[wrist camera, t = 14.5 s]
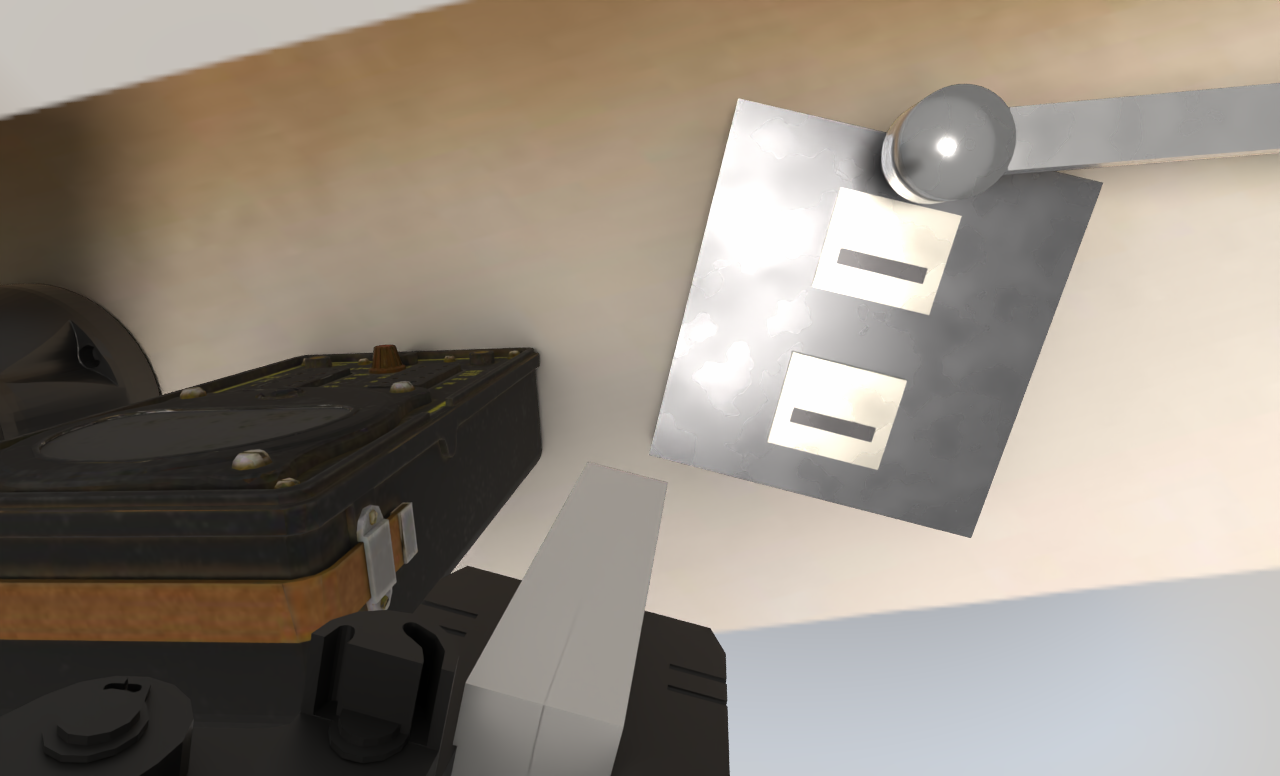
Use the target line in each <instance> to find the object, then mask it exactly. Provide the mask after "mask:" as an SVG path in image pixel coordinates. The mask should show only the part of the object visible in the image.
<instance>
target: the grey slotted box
mask: <svg viewBox="0 0 1280 776" xmlns="http://www.w3.org/2000/svg"><path fill="white" fill-rule="evenodd" d="M886 134H887V133H886V132H882V131H877V130H873V129H869V128H864V127H860V126H856V125H851V124H847V123H843V122H838V121H834V120H830V119H825V118H821V117H817V116H813V115H808V114H804V113H800V112H795V111H791V110H787V109H782V108H778V107H774V106H769V105H765V104H761V103H756V102H752V101H748V100H743V99H739V98H738V101H737V105H736V109H735V113H734V117H733V121H732V125H731V129H730V133H729V137H728V141H727V145H726V149H725V153H724V157H723V161H722V165H721V169H720V173H719V177H718V181H717V185H716V189H715V193H714V197H713V201H712V205H711V209H710V213H709V217H708V221H707V225H706V229H705V233H704V237H703V241H702V245H701V249H700V253H699V257H698V261H697V265H696V269H695V273H694V277H693V281H692V285H691V289H690V293H689V297H688V301H687V305H686V309H685V313H684V317H683V321H682V325H681V329H680V333H679V337H678V341H677V345H676V349H675V353H674V357H673V361H672V365H671V369H670V373H669V377H668V381H667V385H666V389H665V393H664V397H663V401H662V405H661V409H660V413H659V417H658V421H657V425H656V429H655V433H654V437H653V441H652V445H651V449H650V453H649V455H651V456H655V457H659V458H663V459H667V460H670V461H674V462H678V463H682V464H686V465H690V466H694V467H698V468H701V469H705V470H709V471H713V472H717V473H721V474H725V475H729V476H732V477H736V478H740V479H744V480H748V481H752V482H756V483H760V484H763V485H767V486H771V487H775V488H779V489H783V490H787V491H791V492H794V493H798V494H802V495H806V496H810V497H814V498H818V499H822V500H825V501H829V502H833V503H837V504H841V505H845V506H849V507H853V508H856V509H860V510H864V511H868V512H872V513H876V514H880V515H884V516H887V517H891V518H895V519H899V520H903V521H907V522H911V523H915V524H918V525H922V526H926V527H930V528H934V529H938V530H942V531H946V532H949V533H953V534H957V535H961V536H965V537H969V538H971V537H972V534H973V532H974V529H975V526H976V524H977V521H978V518H979V515H980V513H981V510H982V507H983V505H984V502H985V499H986V497H987V494H988V491H989V489H990V486H991V483H992V480H993V478H994V475H995V472H996V470H997V467H998V464H999V462H1000V459H1001V456H1002V454H1003V451H1004V448H1005V445H1006V443H1007V440H1008V437H1009V435H1010V432H1011V429H1012V427H1013V424H1014V421H1015V419H1016V416H1017V413H1018V410H1019V408H1020V405H1021V402H1022V400H1023V397H1024V394H1025V392H1026V389H1027V386H1028V384H1029V381H1030V378H1031V375H1032V373H1033V370H1034V367H1035V365H1036V362H1037V359H1038V357H1039V354H1040V351H1041V349H1042V346H1043V343H1044V341H1045V338H1046V335H1047V332H1048V330H1049V327H1050V324H1051V322H1052V319H1053V316H1054V314H1055V311H1056V308H1057V306H1058V303H1059V300H1060V297H1061V295H1062V292H1063V289H1064V287H1065V284H1066V281H1067V279H1068V276H1069V273H1070V271H1071V268H1072V265H1073V262H1074V260H1075V257H1076V254H1077V252H1078V249H1079V246H1080V244H1081V241H1082V238H1083V236H1084V233H1085V230H1086V227H1087V225H1088V222H1089V219H1090V217H1091V214H1092V211H1093V209H1094V206H1095V203H1096V201H1097V198H1098V195H1099V192H1100V190H1101V187H1102V184H1103V183H1102V182H1098V181H1093V180H1089V179H1085V178H1080V177H1076V176H1072V175H1067V174H1063V173H1059V172H1054V171H1048V172H1035V173H1022V174H1010V175H1002V176H1001V177H1000V178H999V180H998V181H997V182H995V183H994V184H993V185H992V186H991V187H989V188H988V189H987V190H985V191H983V192H982V193H980V194H978V195H975V196H973V197H969V198H966V199H960V200H954V201H948V202H941V203H935V204H921V203H916V202H912V201H910V200H907V199H905V198H904V197H902V196H901V195H899V194H898V193H897V192H896V191H895V190H894V189H893V188H892V187H891V186H890V184H889V183H888V181H887V179H886V177H885V174H884V172H883V168H882V160H881V154H882V146H883V142H884V139H885V136H886Z"/></svg>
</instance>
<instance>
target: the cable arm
mask: <svg viewBox="0 0 1280 776" xmlns="http://www.w3.org/2000/svg"><path fill="white" fill-rule="evenodd" d="M1274 153H1280V83H1274V84H1263V85H1252V86H1241V87H1230V88H1218V89H1207V90H1196V91H1185V92H1174V93H1163V94H1152V95H1140V96H1129V97H1118V98H1107V99H1096V100H1085V101H1074V102H1062V103H1051V104H1040V105H1029V106H1018V107H1009V108H1008V106H1007V105H1006V103H1005V102H1004V101H1003V100H1002V99H1001V98H1000V97H999V96H998V95H996V94H995V93H994V92H992V91H990V90H989V89H986V88H984V87H981V86H977V85H972V84H957V85H951V86H948V87H944V88H942V89H940V90H937V91H935V92H934V93H932V94H930V95H929V96H927V97H926V98H924V99H923V100H921V101H920V102H918V103H917V104H915V105H914V106H912V107H911V108H909V109H908V110H906V111H905V112H904V113H902V114H901V115H900V116H899V117H898V118H897V119H896V120H895V121H894V123H893V124H892V125H891V127H890V129H889V130H888V132H887V134H886V136H885V139H884V142H883V146H882V154H881V160H882V168H883V172H884V174H885V177H886V179H887V181H888V183H889V184H890V186H891V187H892V188H893V189H894V190H895V191H896V192H897V193H898V194H899V195H901V196H902V197H904V198H905V199H907V200H910V201H912V202H916V203H921V204H935V203H941V202H948V201H954V200H960V199H966V198H969V197H973V196H975V195H978V194H980V193H982V192H983V191H985V190H987V189H988V188H989V187H991V186H992V185H993V184H994V183H995V182H997V181H998V180H999V178H1000V177H1001V176H1002V175H1010V174H1022V173H1035V172H1048V171H1060V170H1073V169H1085V168H1098V167H1110V166H1123V165H1136V164H1148V163H1161V162H1173V161H1186V160H1199V159H1211V158H1224V157H1236V156H1249V155H1261V154H1274Z"/></svg>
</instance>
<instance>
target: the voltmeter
mask: <svg viewBox="0 0 1280 776" xmlns="http://www.w3.org/2000/svg"><path fill="white" fill-rule="evenodd" d="M537 367H539V353H536V352H534V351H533V348H502V349H473V350H444V351H415V352H413V351H409V352H398V351H397V349H396V346H395V345H379V346H376V347H374V351H373V353H357V354H328V355H305V356H299V357H294V358H291V359H287V360H284V361H280V362H277V363H273V364H270V365H266V366H263V367H259V368H256V369H252V370H249V371H245V372H242V373H238V374H235V375H231V376H228V377H224V378H221V379H217V380H214V381H210V382H207V383H203V384H200V385H196V386H193V387H189V388H185V389H182V390H178V391H175V392H171V393H168V394H164V395H161V396H157V397H154V398H150V399H147V400H143V401H140V402H136V403H133V404H129V405H126V406H122V407H119V408H115V409H112V410H108V411H105V412H101V413H98V414H94V415H91V416H87V417H84V418H80V419H77V420H73V421H70V422H66V423H63V424H59V425H56V426H52V427H49V428H45V429H42V430H38V431H35V432H31V433H28V434H24V435H20V436H17V437H13V438H10V439H6V440H3V441H0V717H1V716H3V715H5V714H7V713H9V712H11V711H13V710H15V709H18V708H20V707H22V706H24V705H26V704H28V703H30V702H32V701H34V700H36V699H38V698H40V697H42V696H44V695H46V694H49V693H52V692H54V691H57V690H60V689H62V688H65V687H68V686H70V685H73V684H76V683H78V682H83V681H88V680H94V679H100V678H106V677H112V676H139V677H151V678H154V679H157V680H161V681H164V682H167V683H170V684H173V685H175V686H176V687H177V688H179V689H180V690H181V691H182V692H183V693H184V694H185V695H186V696H187V697H188V698H189V699H190V700H191V706H192V712H193V718H194V721H193V728H246V729H253V728H269V727H279V726H283V725H288V724H290V723H291V722H292V721H293V720H294V719H295V718H296V716H297V715H298V714H299V713H300V710H301V703H302V696H303V689H304V682H305V675H306V668H307V661H308V654H309V647H310V640H311V633H313V632H314V631H316V630H317V629H319V628H320V627H322V626H323V625H325V624H326V623H328V622H329V621H331V620H332V619H336V618H339V617H342V616H345V615H349V614H352V613H355V612H360V611H375V610H392V611H398V612H405V613H412V614H413V612H414V611H415V610H416V609H417V607H418V606H419V605H420V604H422V603H423V600H424V599H425V597H426V596H427V595H428V594H429V592H430V591H431V590H432V588H433V587H434V586H435V585H436V583H437V582H438V581H439V580H440V579H441V578H444V577H446V576H448V575H450V573H451V572H452V571H453V570H454V568H455V567H456V566H457V564H458V563H459V562H460V561H461V559H462V558H463V557H464V555H465V554H466V553H467V552H468V550H469V549H470V548H471V547H472V545H473V544H474V543H475V541H476V540H477V539H478V538H479V536H480V535H481V534H482V532H483V531H484V530H485V529H486V527H487V526H488V525H489V524H490V522H491V521H492V520H493V518H494V517H495V516H496V515H497V513H498V512H499V511H500V509H501V508H502V507H503V506H504V504H505V503H506V502H507V501H508V499H509V498H510V497H511V495H512V494H513V493H514V492H515V490H516V489H517V488H518V486H519V485H520V484H521V483H522V481H523V480H524V479H525V478H526V476H527V475H528V474H529V472H530V471H531V470H532V469H533V467H534V466H535V465H536V463H537V462H538V460H539V459H540V456H541V451H542V449H541V437H540V424H539V412H538V400H537V388H536V375H535V369H536V368H537Z"/></svg>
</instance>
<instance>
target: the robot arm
mask: <svg viewBox="0 0 1280 776" xmlns="http://www.w3.org/2000/svg"><path fill="white" fill-rule="evenodd" d="M157 396H160V394H159V390H158V387H157V384H156V380H155V378H154V375H153V372H152V370H151V368H150V366H149V364H148V362H147V360H146V358H145V356H144V354H143V353H142V351H141V349H140V348H139V346H138V345H137V343H136V342H135V341H134V339H133V338H132V337H131V336H130V334H129V333H128V332H127V331H126V330H125V329H124V327H123V326H122V325H121V324H120V323H119V322H118V321H117V320H116V319H114V318H113V317H112V316H111V315H110V314H109V313H107V312H106V311H105V310H104V309H102V308H101V307H99V306H98V305H96V304H95V303H93V302H92V301H90V300H88V299H86V298H85V297H83V296H81V295H78V294H76V293H74V292H71V291H69V290H66V289H63V288H59V287H55V286H51V285H45V284H33V283H32V284H12V285H0V441H3V440H6V439H10V438H13V437H17V436H20V435H24V434H28V433H31V432H35V431H38V430H42V429H45V428H49V427H52V426H56V425H59V424H63V423H66V422H70V421H73V420H77V419H80V418H84V417H87V416H91V415H94V414H98V413H101V412H105V411H108V410H112V409H115V408H119V407H122V406H126V405H129V404H133V403H136V402H140V401H143V400H147V399H150V398H154V397H157ZM666 489H667V482H664V481H660V480H656V479H652V478H648V477H644V476H641V475H637V474H633V473H629V472H625V471H621V470H617V469H614V468H610V467H606V466H602V465H598V464H594V463H590V462H587V464H586V466H585V468H584V470H583V471H582V473H581V475H580V477H579V479H578V481H577V482H576V484H575V486H574V488H573V490H572V491H571V493H570V495H569V497H568V499H567V500H566V502H565V504H564V506H563V508H562V509H561V511H560V513H559V515H558V517H557V518H556V520H555V522H554V524H553V526H552V527H551V529H550V531H549V533H548V535H547V537H546V538H545V540H544V542H543V544H542V546H541V547H540V549H539V551H538V553H537V555H536V556H535V558H534V560H533V562H532V564H531V565H530V567H529V569H528V571H527V573H526V574H525V576H524V578H523V580H518V579H515V578H511V577H507V576H503V575H500V574H496V573H492V572H489V571H485V570H481V569H477V568H474V567H470V566H466V567H464V568H462V569H460V570H458V571H456V572H454V573H452V574H450V575H448V576H446V577H444V578H441V579H440V580H439V581H438V582H437V583H436V585H435V586H434V587H433V588H432V590H431V591H430V592H429V594H428V595H427V596H426V597H425V599H424V600H423V603H422V604H420V605H419V606H418V607H417V609H416V610H415V611H414V612H413V614H412V613H405V612H398V611H392V610H375V611H360V612H355V613H352V614H349V615H345V616H342V617H339V618H336V619H332V620H331V621H329V622H328V623H326V624H325V625H323V626H322V627H320V628H319V629H317V630H316V631H314V632H313V633H311V640H310V647H309V654H308V661H307V668H306V675H305V682H304V689H303V696H302V703H301V710H300V713H299V714H298V715H297V716H296V718H295V719H294V720H293V721H292V722H291V723H290V724H288V725H283V726H279V727H269V728H253V729H246V728H193V721H194V718H193V712H192V706H191V700H190V699H189V698H188V697H187V696H186V695H185V694H184V693H183V692H182V691H181V690H180V689H179V688H177V687H176V686H175V685H173V684H170V683H167V682H164V681H161V680H157V679H154V678H151V677H139V676H112V677H106V678H100V679H94V680H88V681H83V682H78V683H76V684H73V685H70V686H68V687H65V688H62V689H60V690H57V691H54V692H52V693H49V694H46V695H44V696H42V697H40V698H38V699H36V700H34V701H32V702H30V703H28V704H26V705H24V706H22V707H20V708H18V709H15V710H13V711H11V712H9V713H7V714H5V715H3V716H1V717H0V776H730V771H729V740H728V710H727V706H726V704H727V684H726V654H725V652H724V650H723V648H722V647H721V645H720V644H719V642H718V640H717V639H716V637H715V635H714V634H713V632H712V630H711V629H710V628H707V627H704V626H700V625H696V624H692V623H689V622H685V621H681V620H677V619H674V618H670V617H666V616H663V615H659V614H655V613H651V612H648V611H645V605H646V600H647V594H648V589H649V583H650V578H651V572H652V566H653V561H654V555H655V550H656V544H657V539H658V533H659V528H660V522H661V517H662V511H663V505H664V500H665V494H666Z"/></svg>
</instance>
